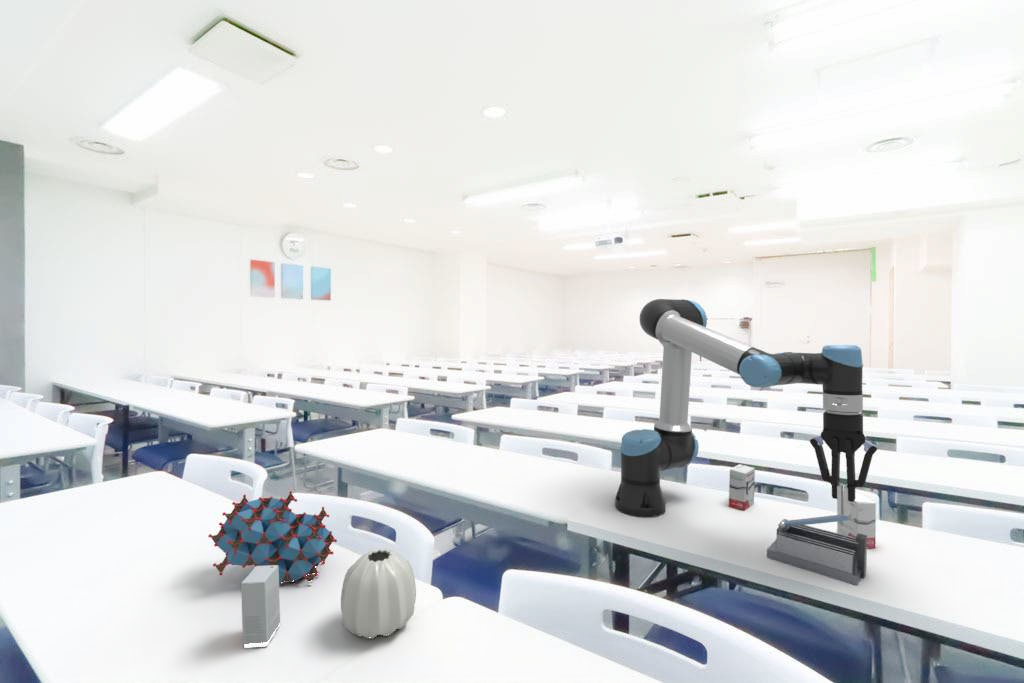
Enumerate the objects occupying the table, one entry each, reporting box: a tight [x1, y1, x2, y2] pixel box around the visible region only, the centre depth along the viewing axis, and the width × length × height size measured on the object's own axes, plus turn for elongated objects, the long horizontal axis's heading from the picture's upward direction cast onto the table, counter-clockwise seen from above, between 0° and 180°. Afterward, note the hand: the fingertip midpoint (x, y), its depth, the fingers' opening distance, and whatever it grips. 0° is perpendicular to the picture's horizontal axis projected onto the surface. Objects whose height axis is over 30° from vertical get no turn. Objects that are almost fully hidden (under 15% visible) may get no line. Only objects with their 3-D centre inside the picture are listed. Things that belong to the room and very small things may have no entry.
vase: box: [340, 548, 417, 639], centre depth 90 cm, size 14×14×13 cm
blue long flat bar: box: [777, 514, 851, 529], centre depth 113 cm, size 15×4×1 cm, turn 45°
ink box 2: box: [836, 490, 877, 549], centre depth 124 cm, size 9×5×12 cm, turn 175°
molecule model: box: [208, 490, 338, 583], centre depth 107 cm, size 16×14×25 cm
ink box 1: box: [728, 464, 756, 511], centre depth 148 cm, size 8×5×12 cm, turn 134°
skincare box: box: [240, 565, 281, 645], centre depth 86 cm, size 6×4×12 cm
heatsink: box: [766, 525, 868, 586], centre depth 113 cm, size 19×12×9 cm, turn 46°
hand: (843, 513), depth 109 cm, fingers closed
